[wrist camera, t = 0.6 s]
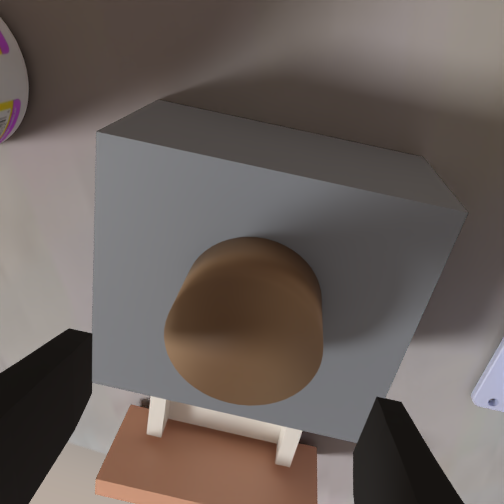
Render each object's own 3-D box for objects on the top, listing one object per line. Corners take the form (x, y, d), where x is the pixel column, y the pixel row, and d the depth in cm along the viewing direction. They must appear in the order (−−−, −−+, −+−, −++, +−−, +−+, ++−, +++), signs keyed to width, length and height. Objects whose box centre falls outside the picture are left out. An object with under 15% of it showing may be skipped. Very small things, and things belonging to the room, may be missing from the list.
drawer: (361, 328, 22) (373, 402, 18) (311, 460, 26) (311, 544, 22) (140, 278, 22) (99, 340, 18) (129, 418, 27) (95, 494, 22)
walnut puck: (338, 254, 14) (343, 298, 12) (303, 364, 16) (302, 419, 14) (194, 222, 14) (172, 260, 12) (178, 336, 16) (157, 386, 14)
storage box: (423, 156, 18) (468, 212, 13) (352, 346, 23) (364, 445, 18) (158, 99, 18) (96, 131, 13) (141, 299, 23) (90, 382, 18)
